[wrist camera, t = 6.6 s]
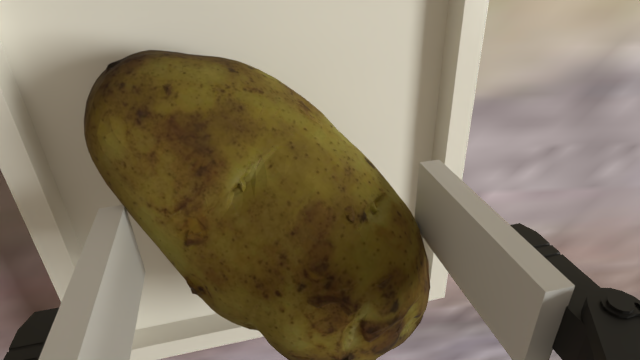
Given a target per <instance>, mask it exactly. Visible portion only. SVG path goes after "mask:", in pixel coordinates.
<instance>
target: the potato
mask: <svg viewBox="0 0 640 360" xmlns="http://www.w3.org/2000/svg"><path fill="white" fill-rule="evenodd" d="M84 136H85V140H86V145H87V148H88V152H89V153H90V156H91V159H92V161H93V162H94V164H95V166H96V168H97V170H98V171H99V173H100V174H101V176H102V178H103V179H104V181H105V183H106V184H107V185H108V187H109V188H110V189H111V190H112V192H113V193H114V194H115V196H116V197H117V198H118V199H119V201H120V202H121V203H122V205H123V206H125V208H126V210H127V211H128V212H129V214H130V215H131V216H132V217H133V219H134V220H135V221H136V222H137V223H138V224H139V226H140V227H141V228H142V229H143V230H144V231H145V233H146V234H147V235H148V236H149V237H150V238H151V240H152V241H153V242H154V243H155V244H156V245H157V247H158V248H159V249H160V250H161V252H162V253H163V254H164V255H165V256H166V258H167V259H168V260H169V261H170V262H171V264H172V265H173V266H174V267H175V268H176V269H177V271H178V272H179V273H180V274H181V275H182V276H183V278H184V279H185V280H186V281H187V284H188V286H189V287H190V288H191V292H192V294H196V295H198V296H199V297H200V298H201V299H202V300H203V301H204V302H205V303H206V304H207V305H208V306H209V307H210V308H211V309H212V310H213V311H214V312H216V313H217V314H218V315H220V316H221V317H223V318H225V319H227V320H228V321H230V322H232V323H234V324H237V325H239V326H242V327H245V328H248V329H251V330H257V331H259V332H260V333H261V334H262V335H263V336H264V337H265V338H266V340H267V341H268V342H269V344H270V345H271V346H273V347H274V348H275V349H276V350H277V351H278V352H279V353H280V354H282V355H283V356H284V357H286V358H287V359H288V360H375V359H377V358H378V357H380V356H381V355H383V354H385V353H386V352H388V351H389V350H391V349H394V348H396V347H397V346H399V345H400V344H402V343H403V342H404V341H405V340H406V339H407V338H408V337H409V336H410V335H411V334H412V333H413V331H414V330H415V329H416V327H417V326H418V325H419V323H420V322H421V320H422V317H423V314H424V312H425V310H426V307H427V303H428V299H429V291H430V277H429V261H428V258H427V254H426V251H425V247H424V243H423V240H422V236H421V233H420V230H419V227H418V225H417V222H416V220H415V219H414V217H413V215H412V213H411V211H410V210H409V208H408V207H407V206H406V204H405V203H404V202H403V200H402V199H401V198H400V197H399V196H398V194H397V193H396V192H395V190H394V189H393V188H392V186H391V185H390V184H389V183H388V181H387V180H386V179H385V178H384V177H383V175H382V174H381V173H380V172H379V171H378V169H377V168H376V167H375V166H374V165H373V164H372V162H371V161H370V160H369V159H368V158H367V157H366V156H365V155H364V154H363V153H362V152H361V151H360V150H359V149H358V148H357V147H356V146H354V145H353V144H352V143H351V142H350V141H349V140H348V139H347V138H346V137H345V136H344V135H343V134H342V133H341V132H339V131H338V130H337V129H336V128H335V126H334V125H333V124H332V123H331V122H330V121H329V120H328V119H327V118H326V117H325V116H324V114H323V113H322V112H321V111H319V110H318V109H317V108H316V107H315V106H314V105H312V104H311V103H310V102H309V101H307V100H306V99H305V98H303V97H302V96H301V95H299V94H298V93H296V92H295V91H294V90H292V89H291V88H289V87H288V86H286V85H285V84H283V83H282V82H281V81H279V80H278V79H276V78H274V77H272V76H270V75H268V74H267V73H265V72H263V71H261V70H259V69H257V68H254V67H252V66H250V65H247V64H245V63H242V62H239V61H236V60H231V59H227V58H222V57H215V56H203V55H193V54H185V53H179V52H171V51H162V50H146V51H141V52H138V53H134V54H131V55H129V56H127V57H125V58H123V59H121V60H118V61H115V62H112V63H110V64H108V66H107V68H106V70H105V71H103V72H102V73H101V75H100V76H99V77H98V78H97V79H96V81H95V83H94V85H93V86H92V88H91V91H90V93H89V96H88V98H87V101H86V108H85V115H84Z"/></svg>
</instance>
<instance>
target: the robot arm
mask: <svg viewBox="0 0 640 360" xmlns="http://www.w3.org/2000/svg"><path fill="white" fill-rule="evenodd" d="M414 219H415V220H416V222H417V225H418V227H419V230H420V233H421V236H422V237H423V239H424V240H425V241H426V243H427V244H428V245H429V247H430V248H431V249H432V251H433V252H434V254H435V255H436V256H437V258H438V259H439V260H440V262H441V263H442V264H443V266H444V267H445V269H446V270H447V271H448V273H449V274H450V275H451V277H452V278H453V279H454V281H455V282H456V284H457V285H458V286H459V288H460V289H461V290H462V292H463V293H464V294H465V296H466V297H467V298H468V300H469V301H470V303H471V304H472V305H473V307H474V308H475V309H476V311H477V312H478V313H479V315H480V316H481V318H482V319H483V320H484V322H485V323H486V324H487V326H488V327H489V328H490V330H491V331H492V333H493V334H494V335H495V337H496V338H497V339H498V341H499V342H500V343H501V345H502V346H503V347H504V349H505V350H506V352H507V353H508V354H509V356H510V357H511V358H512V360H549V358H550V355H551V353H552V350H553V349H554V350H555V352H556V353H557V354H558V355H559V356H560V357H561V359H562V360H640V301H639V300H638V299H637V298H635V297H634V296H632V295H629V294H627V293H625V292H623V291H620V290H616V289H612V288H600V287H599V286H598V285H597V284H596V283H594V282H593V281H592V280H591V279H590V278H589V277H588V276H586V275H585V274H584V273H583V272H582V271H581V270H580V269H578V268H577V267H576V266H575V265H574V264H573V263H572V262H570V261H569V260H568V259H567V258H566V257H565V256H564V255H560V252H559V251H558V250H557V249H556V248H554V247H553V246H552V245H551V246H550V244H549V242H548V241H546V240H545V239H544V238H543V237H542V236H541V235H540V234H538V233H537V232H536V231H534V230H532V229H530V228H528V227H526V226H524V225H522V224H520V223H519V224H514V225H509V224H508V223H507V222H506V221H505V220H504V219H503V218H502V217H501V216H500V215H498V214H497V213H496V212H495V211H494V210H493V209H492V208H491V207H490V206H489V205H488V204H487V203H486V202H484V201H483V200H482V199H481V198H480V197H479V196H478V195H477V194H476V193H475V192H474V191H473V190H472V189H470V188H469V187H468V186H467V185H466V184H465V183H464V182H463V181H462V180H461V179H460V178H459V177H458V176H456V175H455V174H454V173H453V172H452V171H451V170H450V169H449V168H448V167H447V166H446V165H445V164H444V163H443V162H441V161H440V160H432V161H425V162H420V163H419V174H418V184H417V195H416V206H415V217H414ZM145 273H146V271H145V268H144V264H143V261H142V258H141V255H140V251H139V248H138V245H137V242H136V238H135V235H134V232H133V229H132V226H131V222H130V219H129V216H128V213H127V210H126V208H125V206H123V205H119V206H112V207H105V208H99V210H98V212H97V215H96V217H95V220H94V222H93V225H92V227H91V230H90V232H89V235H88V237H87V240H86V242H85V245H84V247H83V250H82V252H81V255H80V257H79V260H78V262H77V265H76V267H75V270H74V272H73V275H72V277H71V280H70V282H69V285H68V287H67V290H66V292H65V295H64V297H63V300H62V302H61V305H60V307H59V308H55V309H49V310H44V311H38V312H35V313H34V314H33V315H32V316H31V317H30V318H29V319H28V320H27V321H26V322H25V323H24V324H23V325H22V326H21V327H20V328H19V329H18V331H17V333H16V335H15V337H14V339H13V341H12V343H11V345H10V347H9V352H7V354H6V356H5V358H4V360H130V355H131V350H132V344H133V339H134V333H135V328H136V322H137V317H138V311H139V306H140V300H141V295H142V289H143V284H144V278H145Z"/></svg>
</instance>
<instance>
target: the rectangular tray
mask: <svg viewBox="0 0 640 360" xmlns="http://www.w3.org/2000/svg"><path fill="white" fill-rule="evenodd" d="M488 4H489V0H0V169H1V171H2V174H3V176H4V178H5V180H6V182H7V185H8V187H9V189H10V191H11V193H12V196H13V198H14V200H15V202H16V204H17V207H18V209H19V211H20V213H21V215H22V218H23V220H24V222H25V224H26V226H27V229H28V231H29V233H30V235H31V237H32V240H33V242H34V244H35V246H36V248H37V251H38V253H39V255H40V257H41V259H42V262H43V264H44V266H45V268H46V270H47V273H48V275H49V277H50V279H51V281H52V284H53V286H54V288H55V290H56V292H57V295H58V297H59V299H60V301H61V302H62V300H63V297H64V295H65V292H66V290H67V287H68V285H69V282H70V280H71V277H72V275H73V272H74V270H75V267H76V265H77V262H78V260H79V257H80V255H81V252H82V250H83V247H84V245H85V242H86V240H87V237H88V235H89V232H90V230H91V227H92V225H93V222H94V220H95V217H96V215H97V212H98V210H99V208H105V207H112V206H119V205H122V203H121V202H120V201H119V199H118V198H117V197H116V196H115V194H114V193H113V192H112V190H111V189H110V188H109V187H108V185H107V184H106V183H105V181H104V179H103V178H102V176H101V174H100V173H99V171H98V170H97V168H96V166H95V164H94V162H93V161H92V159H91V156H90V153H89V152H88V148H87V145H86V140H85V136H84V115H85V108H86V101H87V98H88V96H89V93H90V91H91V88H92V86H93V85H94V83H95V81H96V79H97V78H98V77H99V76H100V75H101V73H102V72H103V71H105V70H106V68H107V66H108V64H110V63H112V62H115V61H118V60H121V59H123V58H125V57H127V56H129V55H131V54H134V53H138V52H141V51H146V50H162V51H171V52H179V53H185V54H193V55H203V56H215V57H222V58H227V59H231V60H236V61H239V62H242V63H245V64H247V65H250V66H252V67H254V68H257V69H259V70H261V71H263V72H265V73H267V74H268V75H270V76H272V77H274V78H276V79H278V80H279V81H281V82H282V83H283V84H285V85H286V86H288V87H289V88H291V89H292V90H294V91H295V92H296V93H298V94H299V95H301V96H302V97H303V98H305V99H306V100H307V101H309V102H310V103H311V104H312V105H314V106H315V107H316V108H317V109H318V110H319V111H321V112H322V113H323V114H324V116H325V117H326V118H327V119H328V120H329V121H330V122H331V123H332V124H333V125H334V126H335V128H336V129H337V130H338V131H339V132H341V133H342V134H343V135H344V136H345V137H346V138H347V139H348V140H349V141H350V142H351V143H352V144H353V145H354V146H356V147H357V148H358V149H359V150H360V151H361V152H362V153H363V154H364V155H365V156H366V157H367V158H368V159H369V160H370V161H371V162H372V164H373V165H374V166H375V167H376V168H377V169H378V171H379V172H380V173H381V174H382V175H383V177H384V178H385V179H386V180H387V181H388V183H389V184H390V185H391V186H392V188H393V189H394V190H395V192H396V193H397V194H398V196H399V197H400V198H401V199H402V200H403V202H404V203H405V204H406V206H407V207H408V208H409V210H410V211H411V213H412V215H413V217H415V206H416V195H417V184H418V174H419V163H420V162H425V161H432V160H440V161H441V162H443V163H444V164H445V165H446V166H447V167H448V168H449V169H450V170H451V171H452V172H453V173H454V174H455V175H456V176H458V177H459V178H460V179H461V180H462V177H463V171H464V164H465V157H466V151H467V144H468V137H469V131H470V124H471V117H472V111H473V104H474V97H475V91H476V84H477V77H478V71H479V64H480V57H481V51H482V44H483V38H484V31H485V24H486V18H487V11H488ZM127 213H128V216H129V219H130V222H131V226H132V229H133V232H134V235H135V238H136V242H137V245H138V248H139V251H140V255H141V258H142V261H143V264H144V268H145V271H146V273H145V278H144V284H143V289H142V295H141V300H140V306H139V311H138V317H137V322H136V328H135V333H134V339H133V344H132V350H131V355H130V360H158V359H162V358H167V357H171V356H176V355H181V354H185V353H190V352H195V351H199V350H204V349H208V348H213V347H218V346H222V345H227V344H231V343H236V342H241V341H245V340H250V339H255V338H259V337H264V336H263V335H262V334H261V333H260V332H259V331H257V330H251V329H248V328H245V327H242V326H239V325H237V324H234V323H232V322H230V321H228V320H227V319H225V318H223V317H221V316H220V315H218V314H217V313H216V312H214V311H213V310H212V309H211V308H210V307H209V306H208V305H207V304H206V303H205V302H204V301H203V300H202V299H201V298H200V297H199V296H198V295H196V294H192V292H191V288H190V287H189V286H188V284H187V281H186V280H185V279H184V278H183V276H182V275H181V274H180V273H179V272H178V271H177V269H176V268H175V267H174V266H173V265H172V264H171V262H170V261H169V260H168V259H167V258H166V256H165V255H164V254H163V253H162V252H161V250H160V249H159V248H158V247H157V245H156V244H155V243H154V242H153V241H152V240H151V238H150V237H149V236H148V235H147V234H146V233H145V231H144V230H143V229H142V228H141V227H140V226H139V224H138V223H137V222H136V221H135V220H134V219H133V217H132V216H131V215H130V214H129V212H128V211H127ZM422 240H423V243H424V247H425V251H426V254H427V258H428V261H429V277H430V291H429V299H428V301H430V300H435V299H439V298H444V297H445V290H446V284H447V277H448V271H447V270H446V269H445V267H444V266H443V264H442V263H441V262H440V260H439V259H438V258H437V256H436V255H435V254H434V252H433V251H432V249H431V248H430V247H429V245H428V244H427V243H426V241H425V240H424V239H423V237H422Z"/></svg>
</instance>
